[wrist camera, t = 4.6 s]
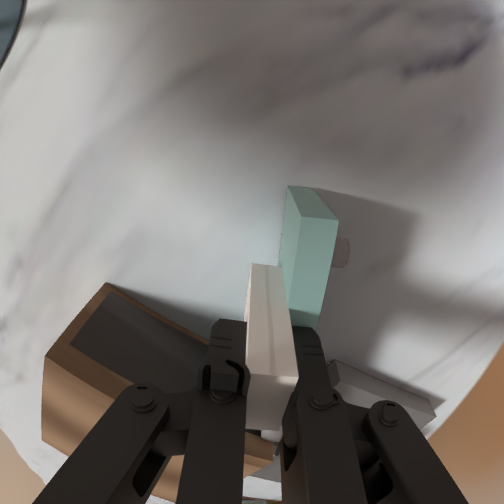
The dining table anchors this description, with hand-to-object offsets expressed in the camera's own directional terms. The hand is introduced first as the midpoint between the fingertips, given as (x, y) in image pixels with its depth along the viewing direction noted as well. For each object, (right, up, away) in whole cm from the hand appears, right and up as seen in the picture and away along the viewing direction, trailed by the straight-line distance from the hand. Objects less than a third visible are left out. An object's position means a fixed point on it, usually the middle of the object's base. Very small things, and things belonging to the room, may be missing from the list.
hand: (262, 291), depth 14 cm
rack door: (+2, 0, +3) cm, 3 cm away
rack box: (-8, -8, +6) cm, 12 cm away
